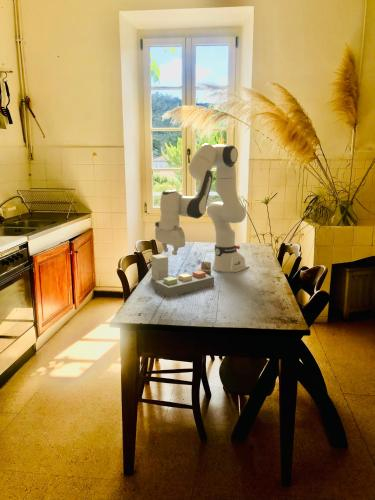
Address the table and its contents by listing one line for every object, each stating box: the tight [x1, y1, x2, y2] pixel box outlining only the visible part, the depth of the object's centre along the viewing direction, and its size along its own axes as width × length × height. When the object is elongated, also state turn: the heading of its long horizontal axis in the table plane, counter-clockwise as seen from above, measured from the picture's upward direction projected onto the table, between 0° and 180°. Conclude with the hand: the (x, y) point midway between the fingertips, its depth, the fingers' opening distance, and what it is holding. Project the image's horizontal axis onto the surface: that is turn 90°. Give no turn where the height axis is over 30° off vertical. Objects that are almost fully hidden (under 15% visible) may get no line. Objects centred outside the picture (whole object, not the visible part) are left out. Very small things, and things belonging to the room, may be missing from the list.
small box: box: [151, 253, 169, 282], centre depth 208 cm, size 8×6×13 cm
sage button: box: [163, 276, 177, 285], centre depth 191 cm, size 5×5×4 cm
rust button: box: [192, 270, 206, 278], centre depth 201 cm, size 5×5×4 cm
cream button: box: [178, 273, 192, 282], centre depth 196 cm, size 5×5×4 cm
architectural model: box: [197, 261, 212, 276], centre depth 218 cm, size 3×7×7 cm, turn 76°
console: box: [154, 272, 215, 298], centre depth 197 cm, size 28×12×4 cm, turn 127°
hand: (170, 253), depth 187 cm, fingers open, 6 cm apart
